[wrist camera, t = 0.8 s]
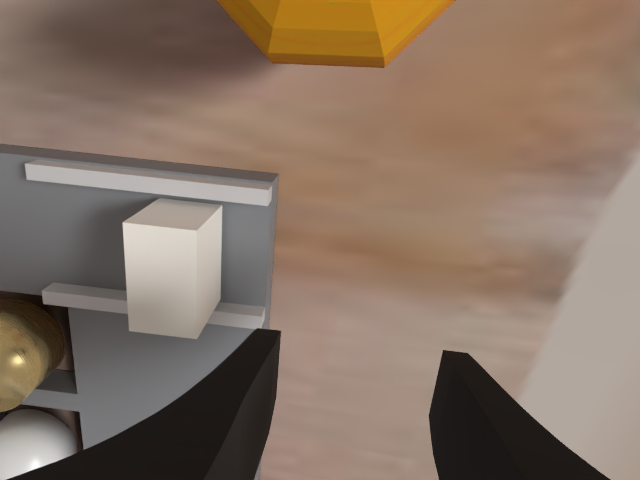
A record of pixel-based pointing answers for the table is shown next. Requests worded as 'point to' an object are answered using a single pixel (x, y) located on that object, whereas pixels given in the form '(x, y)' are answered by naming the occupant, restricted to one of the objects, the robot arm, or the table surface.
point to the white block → (173, 267)
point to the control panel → (110, 277)
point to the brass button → (26, 350)
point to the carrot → (333, 28)
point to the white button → (32, 441)
